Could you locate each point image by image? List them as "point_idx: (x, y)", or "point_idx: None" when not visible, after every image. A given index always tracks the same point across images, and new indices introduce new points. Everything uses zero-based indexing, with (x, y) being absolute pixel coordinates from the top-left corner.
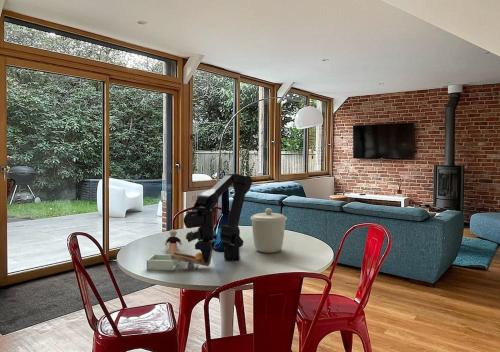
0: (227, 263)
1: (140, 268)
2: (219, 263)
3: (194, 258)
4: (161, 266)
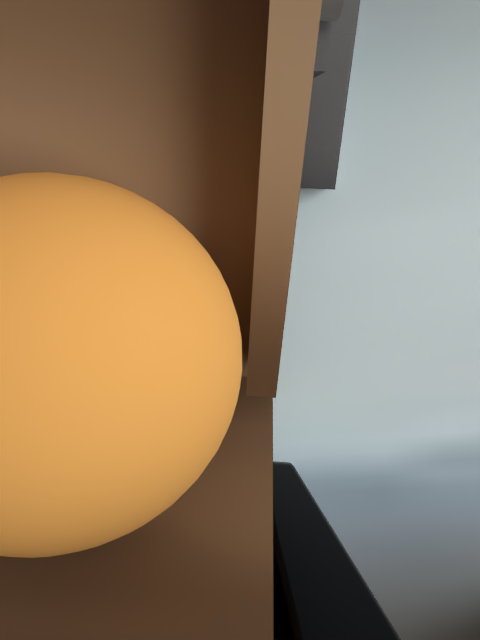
0: (402, 604)
1: None
2: (417, 522)
3: (249, 100)
4: None
